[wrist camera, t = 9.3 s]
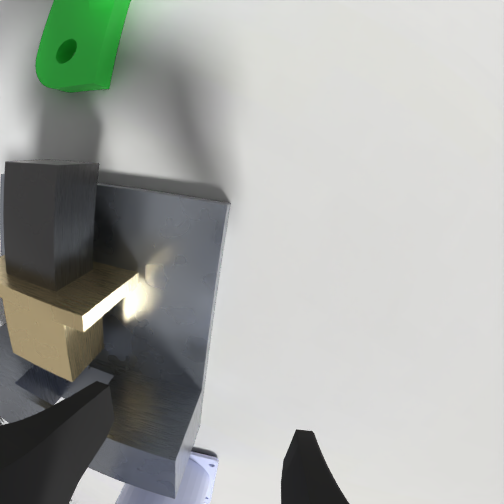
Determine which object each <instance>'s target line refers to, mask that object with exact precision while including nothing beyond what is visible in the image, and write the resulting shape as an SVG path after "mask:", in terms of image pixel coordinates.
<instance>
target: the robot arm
mask: <svg viewBox="0 0 504 504" xmlns="http://www.w3.org/2000/svg"><path fill="white" fill-rule="evenodd" d="M114 420H115V418H114V412H113V406H112V399H111V392H110V385H107V384H104V383H101V382H99V381H95V382H94V383H92V384H90V385H88V386H87V387H85V388H83V389H82V390H80V391H78V392H76V393H75V394H73V395H71V396H70V397H68V398H66V399H64V400H62V401H61V402H59V403H57V404H55V405H53V406H51V407H49V408H47V409H45V410H43V411H41V412H39V413H37V414H35V415H32V416H30V417H27V418H24V419H22V420H19V421H16V422H13V423H9V424H5V425H1V426H0V504H69V502H70V499H71V497H72V495H73V493H74V491H75V488H76V486H77V484H78V482H79V480H80V479H81V477H82V475H83V474H84V472H85V471H86V469H87V468H88V466H89V464H90V463H91V461H92V460H93V458H94V457H95V455H96V454H97V452H98V451H99V449H100V448H101V446H102V444H103V443H104V441H105V440H106V438H107V436H108V434H109V432H110V429H111V427H112V425H113V423H114ZM217 466H218V459H217V458H216V457H213V456H209V455H205V454H200V453H196V452H192V451H191V454H190V457H189V460H188V463H187V466H186V469H185V472H184V475H183V478H182V481H181V484H180V486H179V489H178V492H177V495H176V498H175V499H173V498H169V497H166V496H163V495H159V494H156V493H153V492H150V491H147V490H144V489H141V488H138V487H135V486H133V485H130V484H127V483H125V484H124V487H123V489H122V491H121V493H120V495H119V497H118V499H117V501H116V503H115V504H204V503H206V504H208V503H210V501H211V496H212V491H213V486H214V481H215V476H216V471H217ZM281 504H349V502H348V501H347V499H346V498H345V496H344V495H343V493H342V492H341V490H340V488H339V487H338V485H337V483H336V481H335V479H334V478H333V476H332V474H331V472H330V470H329V468H328V466H327V464H326V461H325V459H324V457H323V455H322V452H321V450H320V448H319V445H318V443H317V440H316V437H315V434H314V433H313V431H305V430H296V431H295V434H294V436H293V439H292V441H291V444H290V446H289V449H288V451H287V453H286V456H285V458H284V461H283V470H282V479H281Z"/></svg>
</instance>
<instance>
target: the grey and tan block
mask: <svg viewBox="0 0 504 504" xmlns="http://www.w3.org/2000/svg"><path fill="white" fill-rule="evenodd" d="M98 170H99V163H89V162H77V161H64V160H50V159H44V160H24V161H8V162H5V176H4V201H3V224H4V249H5V255H3V256H0V297H1V298H2V299H3V305H4V311H5V317H6V322H7V327H8V332H9V337H10V341H11V345H12V350H13V353H15V354H17V355H18V356H20V357H22V358H24V359H26V360H28V361H30V362H31V363H33V364H35V365H37V366H39V367H41V368H43V369H45V370H47V371H49V372H51V373H53V374H56V375H58V376H60V377H62V378H64V379H66V380H69V381H71V382H73V381H74V380H75V379H76V378H77V377H78V376H79V375H80V374H81V372H82V371H83V370H84V369H85V368H86V367H87V366H88V365H89V364H90V363H91V362H92V361H93V359H94V358H95V357H96V356H97V355H98V354H99V353H100V352H101V351H102V350H103V349H104V338H103V319H102V316H103V315H104V314H105V313H106V312H107V311H109V310H110V309H111V308H112V307H113V306H114V305H116V304H117V303H118V302H119V301H120V300H121V299H123V298H124V297H125V296H126V295H127V294H128V293H130V292H131V291H132V290H133V289H134V288H135V287H137V286H138V281H139V272H135V271H131V270H127V269H123V268H118V267H114V266H110V265H106V264H103V263H99V262H95V261H93V237H94V216H95V201H96V190H97V179H98Z"/></svg>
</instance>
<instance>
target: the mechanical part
mask: <svg viewBox="0 0 504 504" xmlns="http://www.w3.org/2000/svg"><path fill="white" fill-rule="evenodd" d="M130 1H131V0H54V2H53V5H52V7H51V10H50V13H49V16H48V19H47V22H46V25H45V28H44V31H43V35H42V38H41V42H40V45H39V49H38V53H37V57H36V73H37V76H38V79H39V81H40V82H41V83H42V84H43V85H44V86H46V87H49V88H53V89H57V90H61V91H64V92H81V91H90V90H102V89H109V87H110V82H111V77H112V72H113V67H114V62H115V58H116V53H117V49H118V45H119V41H120V37H121V33H122V29H123V25H124V22H125V18H126V15H127V11H128V8H129V4H130ZM74 53H75V54H74Z"/></svg>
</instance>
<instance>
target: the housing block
mask: <svg viewBox="0 0 504 504" xmlns="http://www.w3.org/2000/svg"><path fill="white" fill-rule="evenodd" d="M4 176H5V174H1V187H0V235H1V253H2V256H3V255H5V249H4V224H3V201H4ZM230 204H231V203H226V202H221V201H215V200H209V199H203V198H197V197H191V196H185V195H179V194H172V193H166V192H159V191H153V190H146V189H139V188H132V187H125V186H118V185H110V184H103V183H97V190H96V201H95V216H94V237H93V261H95V262H99V263H103V264H106V265H110V266H114V267H118V268H123V269H127V270H131V271H135V272H139V281H138V286H137V287H135V288H134V289H133V290H132V291H131V292H130V293H128V294H127V295H126V296H125V297H124V298H123V299H121V300H120V301H119V302H118V303H117V304H116V305H114V306H113V307H112V308H111V309H110V310H109V311H107V312H106V313H105V314H104V315H103V316H102V319H103V338H104V349H103V350H102V351H101V352H100V353H99V354H98V355H97V356H96V357H95V358H94V359H93V361H92V362H91V363H90V364H89V365H88V366H87V367H86V368H85V369H84V370H83V371H82V372H81V374H80V375H79V376H78V377H77V378H76V379H75V380H74V381H73V382H71V381H69V380H66V379H64V378H62V377H60V376H58V375H56V374H53V373H51V372H49V371H47V370H45V369H43V368H41V367H39V366H37V365H35V364H33V363H31V362H30V361H28V360H26V359H24V358H22V357H20V356H18V355H17V354H15V353H13V350H12V345H11V341H10V337H9V332H8V327H7V323H6V324H4V325H3V326H1V327H0V417H2V418H3V419H4V420H6V421H7V422H9V423H13V422H16V421H19V420H22V419H24V418H27V417H30V416H32V415H35V414H37V413H39V412H41V411H43V410H45V409H47V408H49V407H51V406H53V405H54V404H55V403H56V402H57V401H58V400H59V399H60V397H63V398H65V399H66V398H68V397H70V396H71V395H73V394H75V393H76V392H78V391H80V390H82V389H83V388H85V387H87V386H88V385H90V384H92V383H94V382H95V381H99V382H101V383H104V384H107V385H110V392H111V399H112V406H113V412H114V418H115V420H114V423H113V425H112V427H111V429H110V432H109V434H108V436H107V438H106V440H105V441H104V443H103V444H102V446H101V448H100V449H99V451H98V452H97V454H96V455H95V457H94V458H93V460H92V461H91V463H90V464H89V466H88V467H89V468H91V469H93V470H95V471H98V472H100V473H102V474H105V475H107V476H109V477H112V478H114V479H117V480H119V481H122V482H125V483H127V484H130V485H133V486H135V487H138V488H141V489H144V490H147V491H150V492H153V493H156V494H159V495H163V496H166V497H169V498H173V499H175V498H176V495H177V492H178V489H179V486H180V484H181V481H182V478H183V475H184V472H185V469H186V466H187V463H188V460H189V457H190V454H191V451H192V448H193V445H194V442H195V439H196V436H197V433H198V430H199V427H200V420H201V411H202V402H203V394H204V386H205V378H206V370H207V362H208V354H209V346H210V339H211V331H212V324H213V317H214V310H215V303H216V296H217V289H218V282H219V275H220V268H221V261H222V255H223V248H224V242H225V235H226V229H227V223H228V217H229V210H230Z"/></svg>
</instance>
